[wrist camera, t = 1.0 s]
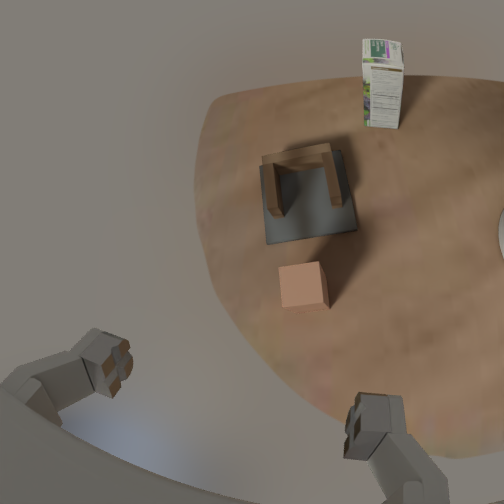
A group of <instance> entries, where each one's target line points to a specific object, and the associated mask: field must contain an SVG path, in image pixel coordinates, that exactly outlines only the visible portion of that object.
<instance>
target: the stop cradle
mask: <svg viewBox="0 0 504 504" xmlns="http://www.w3.org/2000/svg"><path fill="white" fill-rule="evenodd" d="M262 163H263V165H261V166H259V167H260V178H261V188H262V199H263V210H264V221H265V232H266V243H267V245H270V244H276V243H282V242H288V241H294V240H300V239H306V238H313V237H319V236H325V235H331V234H337V233H343V232H349V231H356V230H357V224H356V219H355V214H354V209H353V204H352V199H351V194H350V189H349V185H348V180H347V176H346V171H345V167H344V163H343V159H342V154H341V150H337V151H331V147H330V143H324V144H319V145H313V146H308V147H303V148H298V149H293V150H288V151H283V152H279V153H274V154H270V155H265V156H262Z"/></svg>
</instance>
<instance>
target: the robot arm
mask: <svg viewBox="0 0 504 504" xmlns="http://www.w3.org/2000/svg"><path fill="white" fill-rule="evenodd" d="M499 243H500V248H501V252H502V255H503V258H504V210H503V212H502V214H501V217H500V222H499ZM129 349H130V344H129V341H128V340H126V339H123V338H121V337H118V336H116V335H113V334H110V333H108V332H105V331H102V330H99V329H97V328H93V329H91V330H90V331H89V332H88V333H87V334H86V335H85V336H84V337H83V338H82V339H81V340H80V341H79V342H78V343H77V344H76V345H75V346H74V347H73V348H72V349H71V350H70V351H69V352H68V351H63V352H61V353H58V354H54V355H52V356H48V357H45V358H42V359H39V360H36V361H33V362H30V363H27V364H24V365H21V366H18V367H17V368H16V369H15V370H14V371H13V372H12V373H11V374H10V375H9V376H8V377H7V378H6V379H5V380H4V381H3V382H2V383H1V384H0V504H257V503H253V502H248V501H244V500H240V499H235V498H231V497H227V496H223V495H220V494H216V493H212V492H209V491H205V490H202V489H199V488H195V487H192V486H189V485H186V484H183V483H180V482H177V481H174V480H171V479H168V478H166V477H163V476H160V475H158V474H155V473H153V472H150V471H148V470H145V469H143V468H140V467H138V466H135V465H133V464H131V463H129V462H127V461H124V460H122V459H120V458H118V457H116V456H113V455H111V454H109V453H107V452H105V451H103V450H101V449H99V448H97V447H95V446H93V445H91V444H89V443H87V442H85V441H84V440H82V439H80V438H78V437H76V436H74V435H73V434H71V433H69V432H68V431H66V430H64V429H62V428H61V425H62V424H63V423H62V420H61V418H60V416H59V415H58V413H57V412H58V411H60V410H62V409H64V408H66V407H68V406H70V405H72V404H74V403H75V402H77V401H79V400H81V399H83V398H85V397H87V396H89V395H91V394H93V393H94V391H95V392H97V393H99V394H102V395H105V396H107V397H109V398H112V399H113V397H114V396H115V395H116V393H117V392H118V391H119V389H120V388H121V381H123V380H126V379H127V378H128V377H129V375H130V374H131V371H132V368H133V357H132V355H131V354H130V353H129V352H128V350H129ZM345 433H346V434H347V436H348V437H347V439H346V440H345V442H344V455H343V458H344V459H353V460H363V461H367V464H368V466H369V467H370V469H371V471H372V473H373V474H374V476H375V478H376V480H377V482H378V483H379V485H380V487H381V489H382V491H383V492H384V494H385V496H386V498H387V500H386V501H384V502H383V503H382V504H450V501H449V489H448V480H447V478H446V477H445V475H444V474H443V473H442V472H441V470H440V469H439V468H438V467H437V465H436V464H435V463H434V462H433V461H432V459H431V458H430V457H429V456H428V454H427V453H426V452H425V451H424V450H423V448H422V447H421V446H420V445H419V444H418V442H417V441H416V440H415V439H414V438H413V436H412V435H411V434H407V431H406V422H405V413H404V405H403V398H402V397H401V396H397V395H386V394H376V393H365V392H358V394H357V395H356V397H355V405H354V406H352V407H351V408H350V410H349V412H348V416H347V419H346V425H345ZM489 504H504V500H502V501H498V502H494V503H489Z"/></svg>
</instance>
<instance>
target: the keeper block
mask: <svg viewBox="0 0 504 504" xmlns="http://www.w3.org/2000/svg"><path fill="white" fill-rule="evenodd" d="M279 275H280V286H281V298H282V308H285V309H287V310H290V311H292V312H295V313H305V312H313V311H320V310H328V309H330V305H329V296H328V288H327V279H326V275H325V273H324V271H323V269H322V267H321V265H320V263H319V261H318V262H311V263H304V264H298V265H291V266H284V267H279Z"/></svg>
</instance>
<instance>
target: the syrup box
mask: <svg viewBox="0 0 504 504" xmlns="http://www.w3.org/2000/svg"><path fill="white" fill-rule="evenodd" d="M403 58H404V56H403V49H402V43H400V42H396V41H390V40H383V39H363V62H362V69H363V94H364V125H365V126H371V127H382V128H393V129H398V124H399V117H400V109H401V99H402V90H403V78H404V59H403Z"/></svg>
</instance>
